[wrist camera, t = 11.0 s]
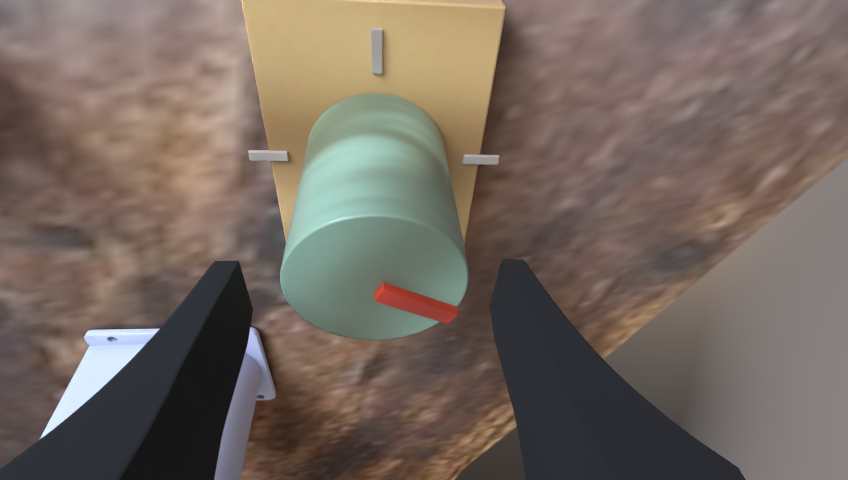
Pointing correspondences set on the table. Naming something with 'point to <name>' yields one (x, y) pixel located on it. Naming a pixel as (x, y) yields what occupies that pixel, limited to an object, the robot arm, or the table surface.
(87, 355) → the robot arm
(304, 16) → the tan flat wooden board
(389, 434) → the table surface
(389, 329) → the mint green cylinder
